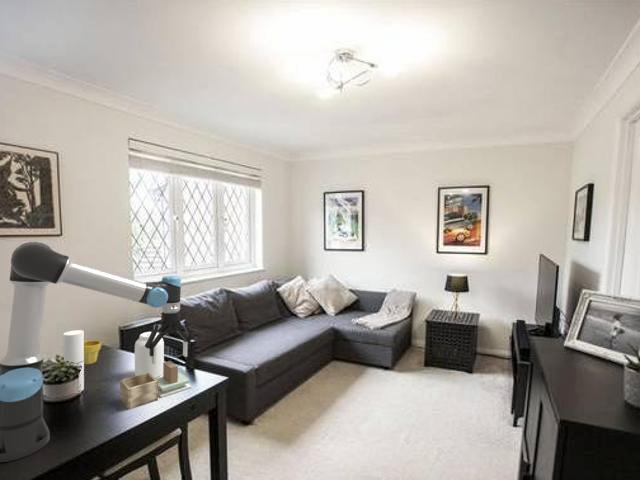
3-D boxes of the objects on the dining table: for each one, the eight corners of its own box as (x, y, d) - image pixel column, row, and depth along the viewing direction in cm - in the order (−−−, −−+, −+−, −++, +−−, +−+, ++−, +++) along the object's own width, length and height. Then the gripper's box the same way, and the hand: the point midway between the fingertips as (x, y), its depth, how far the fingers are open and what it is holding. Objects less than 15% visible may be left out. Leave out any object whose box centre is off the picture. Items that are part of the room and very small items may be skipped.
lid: (162, 395, 144) (162, 372, 144) (151, 385, 152) (151, 364, 152) (189, 386, 153) (189, 364, 153) (177, 378, 161) (177, 357, 161)
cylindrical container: (73, 395, 144) (73, 335, 144) (59, 393, 146) (58, 334, 145) (87, 387, 151) (87, 330, 150) (74, 385, 153) (74, 329, 152)
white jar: (148, 368, 173) (148, 328, 173) (169, 371, 170) (169, 331, 169) (128, 378, 161) (128, 336, 160) (150, 382, 158) (150, 338, 157)
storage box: (128, 409, 134) (128, 389, 134) (119, 399, 142) (119, 380, 142) (157, 400, 142) (158, 380, 142) (148, 390, 150) (148, 372, 149)
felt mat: (160, 398, 144) (160, 396, 144) (149, 387, 153) (149, 385, 153) (191, 388, 153) (191, 386, 153) (178, 378, 162) (178, 377, 162)
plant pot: (105, 358, 184) (105, 340, 184) (91, 366, 174) (91, 347, 174) (87, 357, 185) (87, 339, 185) (71, 365, 175) (71, 346, 175)
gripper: (143, 317, 140) (142, 369, 141) (201, 309, 158) (200, 355, 158) (137, 313, 145) (136, 364, 146) (194, 306, 163) (193, 351, 164)
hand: (169, 359), depth 152 cm, fingers open, 13 cm apart
